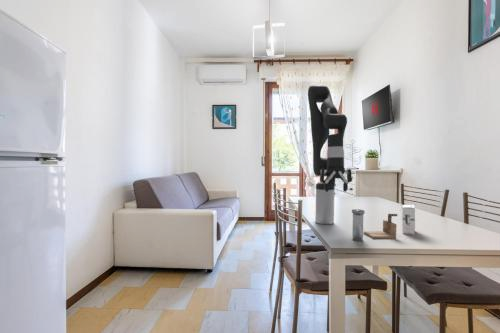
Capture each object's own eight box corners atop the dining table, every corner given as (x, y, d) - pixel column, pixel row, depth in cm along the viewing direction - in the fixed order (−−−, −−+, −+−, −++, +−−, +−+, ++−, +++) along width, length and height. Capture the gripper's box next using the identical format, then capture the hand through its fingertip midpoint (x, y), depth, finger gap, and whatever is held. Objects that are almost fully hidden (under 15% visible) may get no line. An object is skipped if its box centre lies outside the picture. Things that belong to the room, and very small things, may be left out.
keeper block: (363, 233, 125) (364, 212, 125) (390, 233, 126) (391, 212, 126) (372, 238, 117) (373, 215, 117) (401, 238, 118) (402, 215, 118)
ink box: (402, 229, 134) (403, 204, 133) (415, 230, 131) (415, 205, 131) (401, 233, 126) (402, 206, 126) (414, 235, 124) (415, 207, 123)
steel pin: (349, 238, 118) (349, 209, 117) (360, 238, 118) (361, 209, 118) (354, 241, 113) (355, 211, 113) (366, 241, 113) (366, 211, 113)
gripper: (347, 157, 136) (347, 190, 136) (318, 157, 136) (318, 191, 136) (353, 156, 129) (354, 192, 129) (322, 156, 128) (323, 192, 128)
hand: (335, 191), depth 132 cm, fingers open, 8 cm apart
